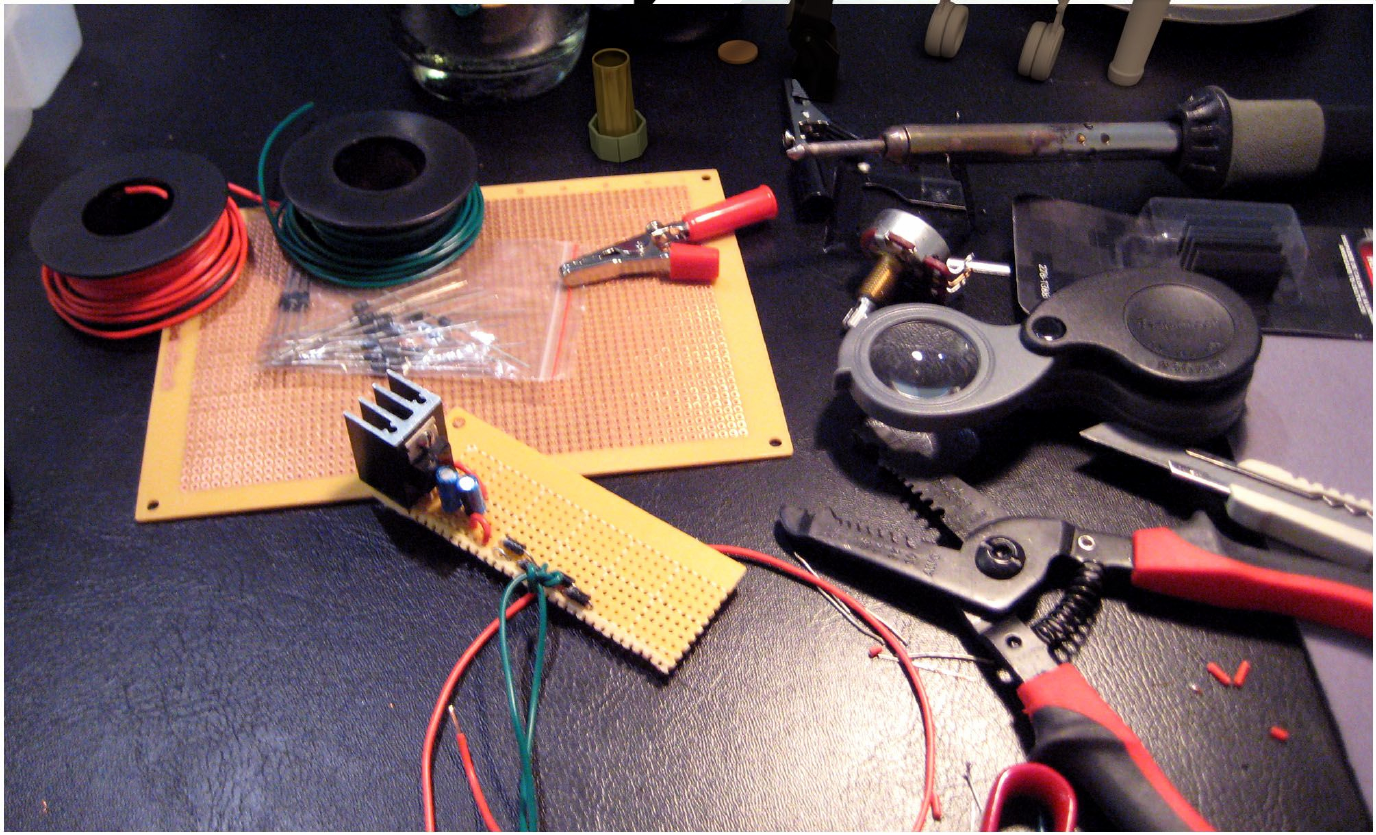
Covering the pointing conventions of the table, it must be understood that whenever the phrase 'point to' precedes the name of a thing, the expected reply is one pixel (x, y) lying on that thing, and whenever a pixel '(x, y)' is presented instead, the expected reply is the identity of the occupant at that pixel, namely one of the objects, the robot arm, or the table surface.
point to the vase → (614, 93)
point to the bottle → (1137, 41)
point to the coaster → (737, 52)
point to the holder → (619, 142)
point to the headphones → (1036, 51)
